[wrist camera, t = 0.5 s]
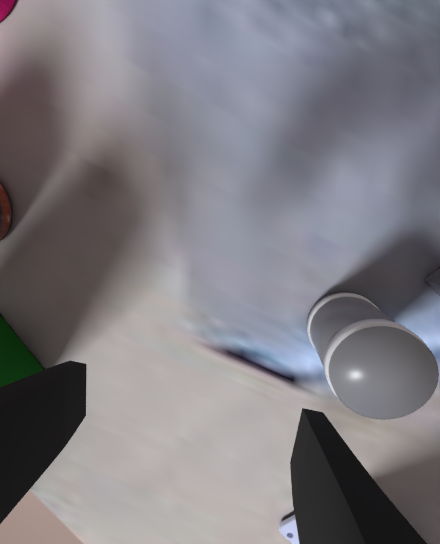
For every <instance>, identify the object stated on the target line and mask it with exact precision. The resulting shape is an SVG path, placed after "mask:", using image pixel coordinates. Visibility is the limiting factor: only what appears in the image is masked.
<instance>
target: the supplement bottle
mask: <svg viewBox="0 0 440 544" xmlns="http://www.w3.org/2000/svg"><path fill="white" fill-rule="evenodd" d="M11 216H12V215H11V205H10V202H9V199H8V196H7V193H6V192H5V190H4V188H3V186H2V185H1V183H0V240H1V239H2V238H3V237H4V236H5V235H6V233H7V232H8V229H9V227H10V223H11Z"/></svg>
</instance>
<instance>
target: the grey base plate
mask: <svg viewBox="0 0 440 544" xmlns="http://www.w3.org/2000/svg"><path fill="white" fill-rule="evenodd" d="M424 280H425V281H426V282H427V283H428V284H429V285H430V286H431V287H432V288H433V289H434V290H435V292H436V293H437V294H438V295H439V296H440V268H439V269H437V270H436V271H435V272H433V273H432V274H431V275H429V276H428V277H427V278H425V279H424Z"/></svg>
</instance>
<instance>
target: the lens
mask: <svg viewBox="0 0 440 544" xmlns="http://www.w3.org/2000/svg"><path fill="white" fill-rule="evenodd" d="M307 333H308V336H309V339H310V341H311V343H312V345H313V347H314V348H315V350H316V351H317V353H318V355H319V357H320V360H321V362H322V364H323V367H324V372H325V376H326V378H327V380H328V383H329V385H330V387H331V389H332V391H333V392H334V394H335V395H336V396H337V397H338V398H339V400H340V401H341V402H342V403H343V404H344V405H345V406H346V407H347V408H349V409H350V410H351V411H353V412H355V413H357V414H359V415H361V416H364V417H368V418H372V419H382V420H385V419H395V418H399V417H403V416H406V415H408V414H411V413H413V412H414V411H416V410H418V409H419V408H421V407H422V406H423V405H424V404H425V403H426V402H427V401H428V400H429V399H430V398H431V396H432V394H433V393H434V391H435V389H436V386H437V382H438V376H439V373H438V365H437V362H436V359H435V357H434V355H433V354H432V352H431V351H430V350H429V348H428V347H427V345H426V344H425V343H424V342H423V341H422V340H421V339H420V338H419V337H418V336H417V335H416V334H414V333H413V332H412V331H410V330H409V329H407V328H406V327H404V326H403V325H401V324H399V323H396V322H395V321H393V320H392V319H391V318H389V317H388V316H387V315H385V314H384V313H383V312H381V311H380V310H379V308H378V307H377V306H376V305H375V304H374V303H372V302H371V301H370V300H368V299H367V298H365V297H363V296H361V295H358V294H354V293H350V292H335V293H331V294H328V295H326V296H324V297H322V298H321V299H320V300H318V301H317V302H316V303H315V304H314V305H313V307H312V308H311V310H310V312H309V314H308V318H307Z"/></svg>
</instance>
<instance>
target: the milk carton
mask: <svg viewBox="0 0 440 544" xmlns="http://www.w3.org/2000/svg"><path fill="white" fill-rule="evenodd" d="M43 370H44V369H43V367H42V366H41V365H40V364H39V362H38V361H37V360H36V359H35V357H34V356H33V355H32V354H31V352H30V351H29V350H28V349H27V348H26V346H25V345H24V344H23V343H22V341H21V340H20V339H19V338H18V336H17V335H16V334H15V333H14V331H13V330H12V329H11V328H10V327H9V325H8V324H7V323H6V322H5V320H4V319H3V318H2V317H1V315H0V387H2V386H5V385H7V384H10V383H12V382H15V381H17V380H20V379H22V378H25V377H27V376H30V375H32V374H35V373H38V372H40V371H43Z"/></svg>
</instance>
